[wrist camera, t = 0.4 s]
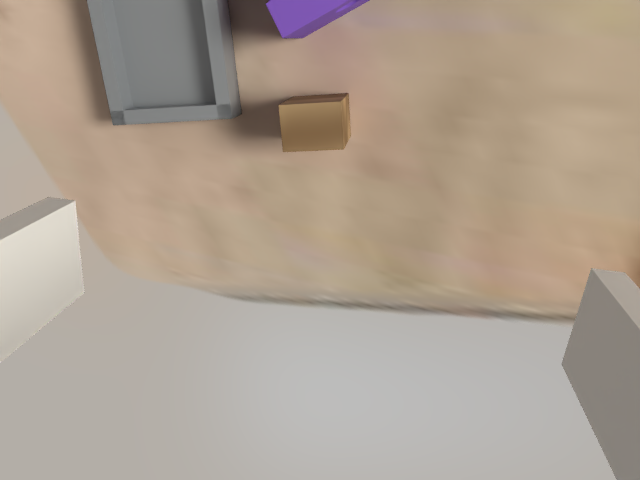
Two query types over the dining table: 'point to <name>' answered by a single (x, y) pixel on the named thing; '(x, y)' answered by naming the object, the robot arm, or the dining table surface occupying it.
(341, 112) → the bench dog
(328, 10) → the bracket
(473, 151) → the dining table surface
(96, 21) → the tray
